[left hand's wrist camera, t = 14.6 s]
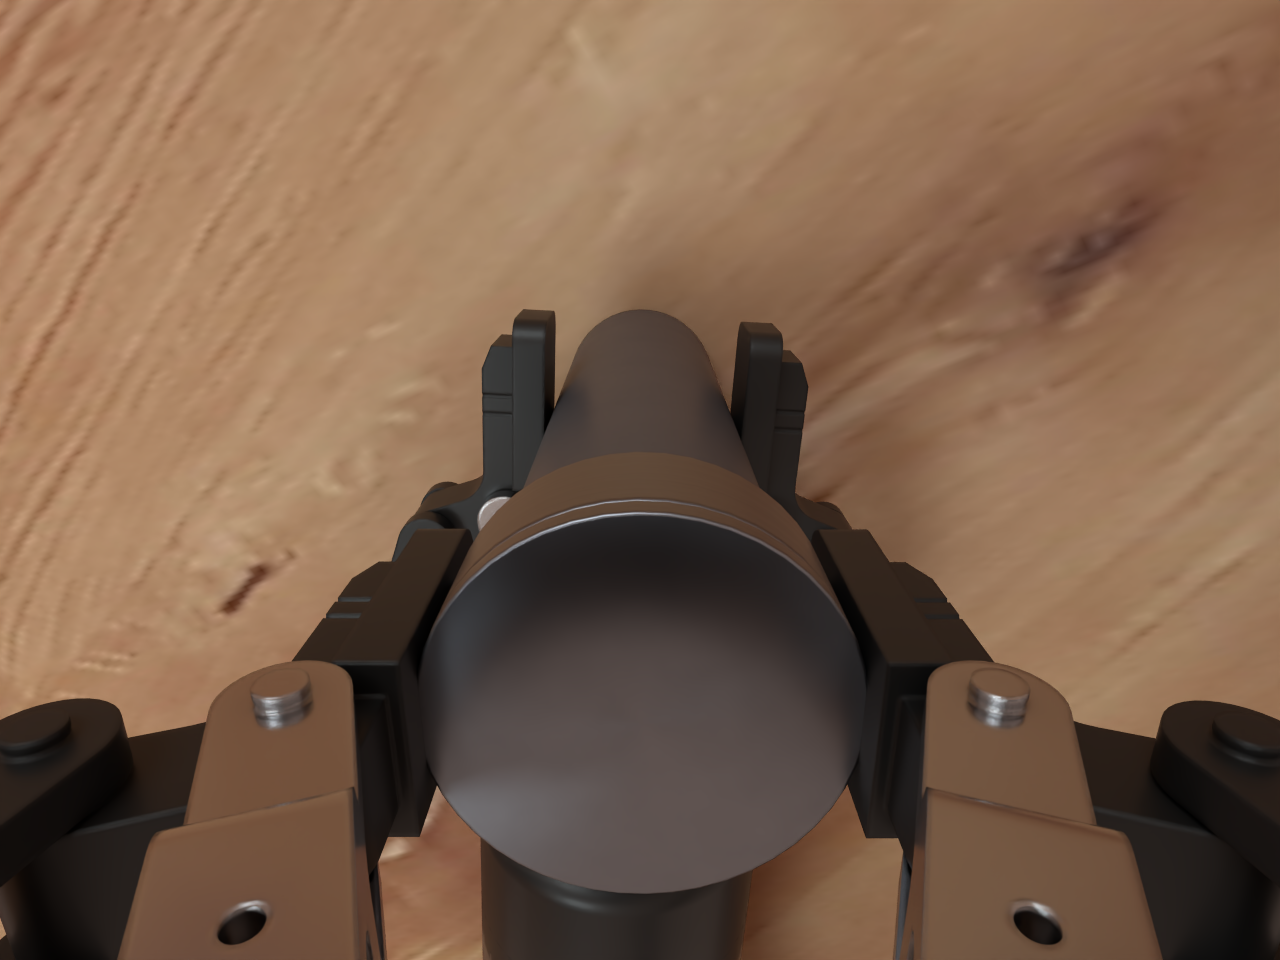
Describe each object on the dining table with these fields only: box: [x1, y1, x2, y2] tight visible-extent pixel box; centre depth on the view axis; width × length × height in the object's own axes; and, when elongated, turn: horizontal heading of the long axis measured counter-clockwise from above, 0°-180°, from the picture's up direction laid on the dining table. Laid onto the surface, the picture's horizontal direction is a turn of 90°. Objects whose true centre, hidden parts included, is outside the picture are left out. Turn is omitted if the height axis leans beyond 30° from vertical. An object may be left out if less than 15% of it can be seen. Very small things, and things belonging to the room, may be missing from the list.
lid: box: [417, 452, 867, 894], centre depth 10 cm, size 5×5×2 cm
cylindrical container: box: [523, 310, 759, 489], centre depth 17 cm, size 4×4×16 cm
